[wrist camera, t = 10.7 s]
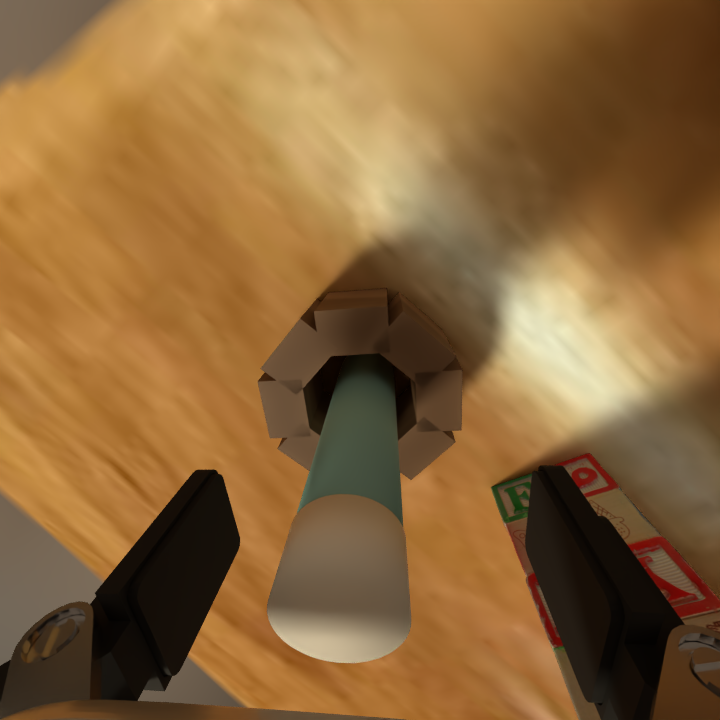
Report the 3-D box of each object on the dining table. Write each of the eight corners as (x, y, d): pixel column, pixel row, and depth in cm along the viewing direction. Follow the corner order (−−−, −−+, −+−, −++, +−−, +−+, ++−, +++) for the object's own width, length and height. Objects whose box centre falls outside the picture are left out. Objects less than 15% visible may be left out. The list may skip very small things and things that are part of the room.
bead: (446, 283, 17) (463, 299, 14) (446, 435, 21) (460, 482, 17) (272, 297, 18) (243, 316, 15) (298, 441, 22) (280, 487, 18)
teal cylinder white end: (393, 345, 19) (408, 566, 7) (396, 397, 20) (413, 664, 8) (336, 349, 19) (254, 566, 7) (342, 399, 20) (280, 661, 8)
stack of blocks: (664, 657, 27) (868, 976, 16) (581, 674, 28) (713, 978, 17) (588, 448, 21) (842, 732, 9) (486, 484, 22) (595, 767, 11)
